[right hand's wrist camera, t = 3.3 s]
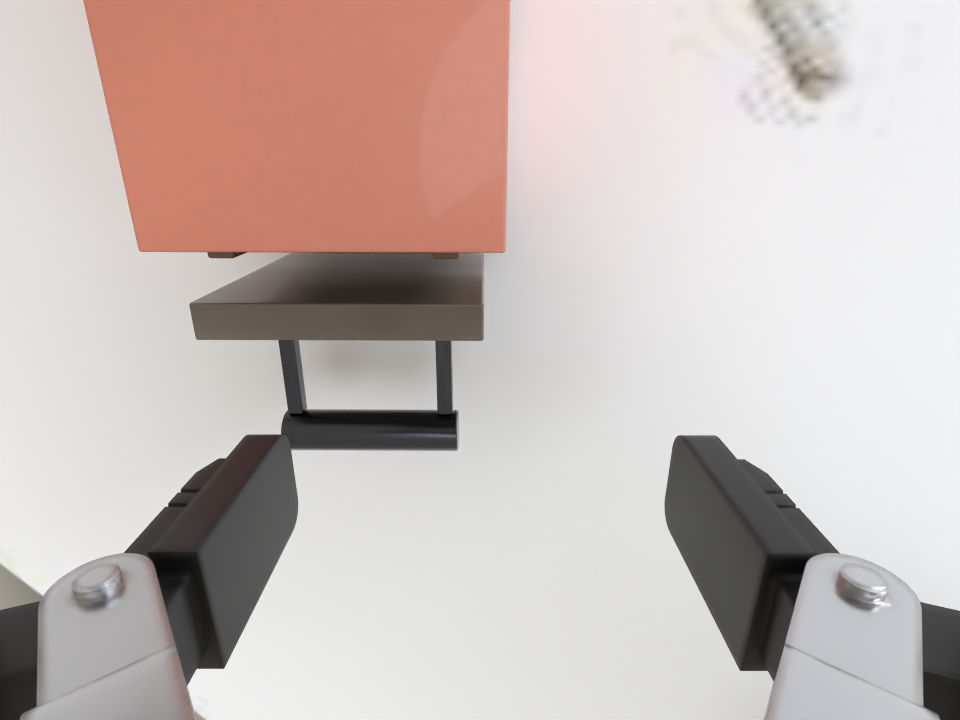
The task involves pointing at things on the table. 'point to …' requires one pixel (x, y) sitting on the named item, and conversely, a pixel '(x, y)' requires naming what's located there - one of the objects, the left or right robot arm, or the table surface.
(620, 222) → the table surface
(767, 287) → the table surface
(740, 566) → the right robot arm
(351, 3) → the cabinet
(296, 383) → the drawer
